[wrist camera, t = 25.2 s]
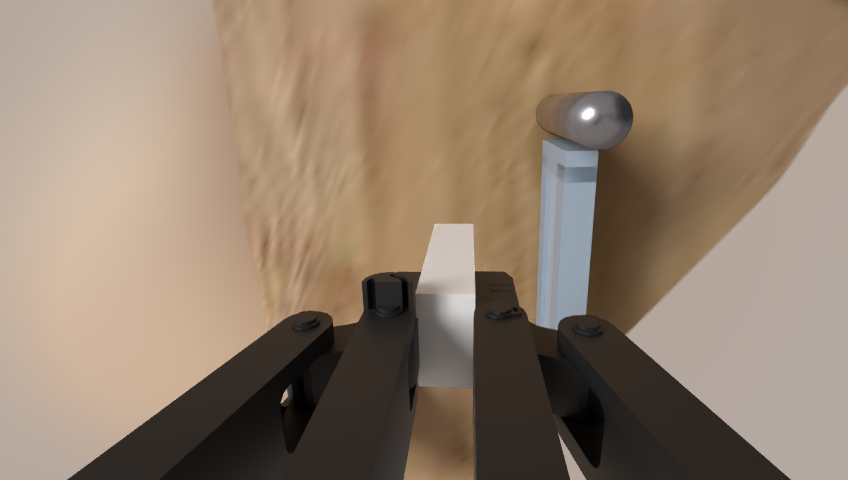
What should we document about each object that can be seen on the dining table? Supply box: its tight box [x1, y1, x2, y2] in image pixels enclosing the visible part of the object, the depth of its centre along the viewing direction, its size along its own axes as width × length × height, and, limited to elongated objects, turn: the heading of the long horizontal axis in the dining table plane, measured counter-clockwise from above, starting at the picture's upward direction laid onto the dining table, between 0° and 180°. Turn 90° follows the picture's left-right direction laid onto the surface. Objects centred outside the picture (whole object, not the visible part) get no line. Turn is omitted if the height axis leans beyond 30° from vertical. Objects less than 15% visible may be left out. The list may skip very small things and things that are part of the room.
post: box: [536, 91, 633, 150], centre depth 30 cm, size 3×3×14 cm
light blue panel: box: [536, 139, 599, 330], centre depth 35 cm, size 19×2×9 cm, turn 2°
